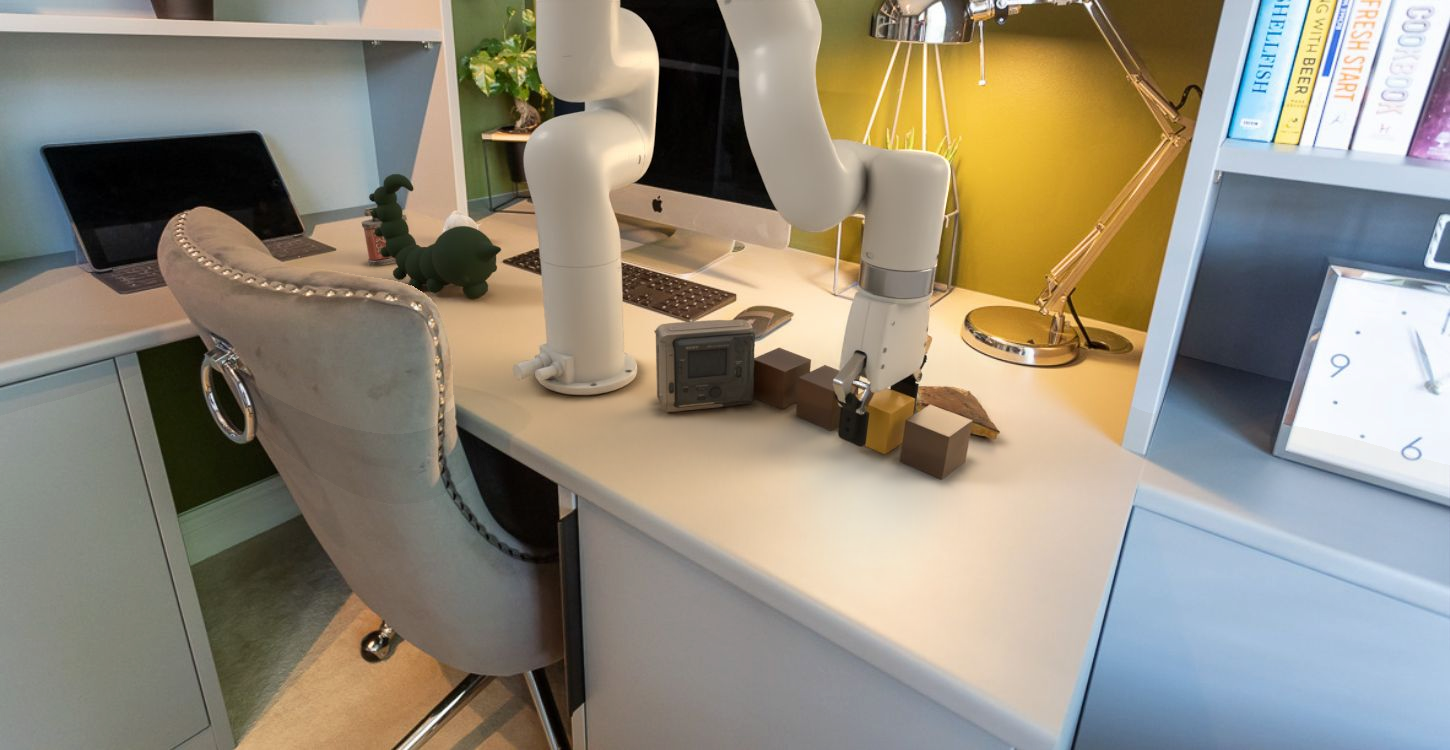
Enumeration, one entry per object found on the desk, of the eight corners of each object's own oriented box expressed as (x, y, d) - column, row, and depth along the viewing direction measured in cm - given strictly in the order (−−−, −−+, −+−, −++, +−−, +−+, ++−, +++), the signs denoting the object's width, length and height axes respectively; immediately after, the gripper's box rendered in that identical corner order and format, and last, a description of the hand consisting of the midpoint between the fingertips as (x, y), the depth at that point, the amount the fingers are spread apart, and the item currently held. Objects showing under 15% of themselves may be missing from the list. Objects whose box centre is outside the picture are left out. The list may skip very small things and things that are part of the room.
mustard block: (884, 454, 84) (890, 413, 81) (846, 438, 87) (850, 397, 85) (909, 438, 87) (915, 398, 85) (871, 422, 90) (876, 383, 88)
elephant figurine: (439, 241, 152) (435, 210, 149) (481, 237, 155) (478, 207, 153) (445, 250, 146) (441, 219, 144) (488, 246, 150) (485, 215, 147)
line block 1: (782, 410, 92) (784, 371, 90) (750, 396, 95) (752, 358, 93) (808, 396, 96) (811, 359, 93) (776, 383, 99) (779, 347, 97)
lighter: (405, 253, 144) (396, 199, 140) (416, 257, 142) (408, 202, 138) (364, 263, 138) (354, 207, 134) (375, 267, 136) (366, 210, 132)
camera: (745, 389, 97) (748, 313, 93) (756, 411, 92) (760, 332, 88) (653, 396, 95) (652, 319, 90) (660, 419, 90) (659, 338, 85)
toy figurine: (374, 295, 128) (487, 311, 117) (346, 178, 121) (464, 182, 110) (419, 279, 136) (529, 293, 125) (395, 168, 129) (510, 172, 117)
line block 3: (941, 480, 79) (949, 437, 77) (899, 461, 83) (905, 419, 80) (965, 461, 83) (973, 420, 81) (923, 444, 86) (930, 404, 84)
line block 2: (830, 431, 88) (834, 391, 86) (795, 415, 91) (798, 377, 89) (855, 416, 91) (860, 377, 89) (821, 402, 94) (824, 364, 92)
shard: (998, 443, 86) (1000, 429, 86) (929, 443, 86) (931, 428, 85) (967, 398, 96) (970, 385, 95) (906, 398, 96) (908, 385, 95)
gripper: (909, 253, 87) (890, 390, 94) (814, 287, 75) (801, 441, 83) (971, 268, 82) (946, 412, 90) (880, 308, 71) (860, 468, 78)
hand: (877, 425), depth 86 cm, fingers open, 9 cm apart
